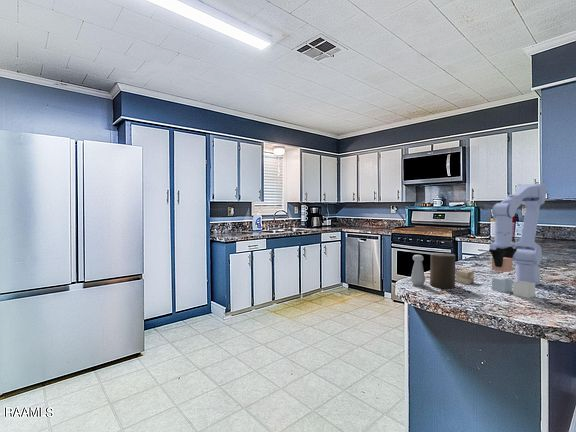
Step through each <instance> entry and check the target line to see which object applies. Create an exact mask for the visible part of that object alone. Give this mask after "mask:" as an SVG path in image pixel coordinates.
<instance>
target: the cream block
mask: <svg viewBox="0 0 576 432" xmlns="http://www.w3.org/2000/svg"><path fill="white" fill-rule="evenodd" d="M512 295H514V296H517V297H522V298H525V299H530V298H534V297H536V285H535V283H530V282H525V281H517V282H512Z"/></svg>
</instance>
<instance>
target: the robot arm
mask: <svg viewBox="0 0 576 432" xmlns="http://www.w3.org/2000/svg"><path fill="white" fill-rule="evenodd" d="M546 187H547V186H546V185H545V184H544V183H543V182H541V183H528V184H527V183H526V184H525V183H524V184H523V183H522V184H520V183H519V184H516V186H515V189H514V193H513V194H508V195H507V196H506V198H504V199H503V200H502V201H501V202H497V203H495V204H494V205H493V207H492V208H491V209H492V210H491V211H492V212H491V213H492V216H493V217H492V218H493V220H492V221H493V222H494V242H491V243H490V244H489V253H490V254H491V256H492V257H493V259H494V263H495V266H496V267H502V264H503V257H506V258H512V262H514V263H515V280H513V281H512V283H513V282H517V281H525V282H530V283H535V286H537V285H541V284H543V282H541V268H540V266H539V265H538V264H539V263H541V262H542V259H543V254H542V253H543V251H542V247H541V245H540V244H538V243H536V233H537V228H538V221H539V215H540V210H541V209H540V208H541V205H543V204H545V201H546V197H547V188H546ZM521 205H523V206H525V210H524V217H523V225H522V230H521V231H522V232H521V235H520V236H521V237H520V240H519V241H516V242H513V240H512V238H513V236H512V235H513V217H515V215H516V212H517V209H518V208H519V207H520V206H521Z"/></svg>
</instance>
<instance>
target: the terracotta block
mask: <svg viewBox="0 0 576 432" xmlns="http://www.w3.org/2000/svg"><path fill="white" fill-rule="evenodd" d="M491 270H492V271H498V272H503V273H507V272H512V271H513V259H512V258H506V257H503V264H502V267H496V266H495V263H494V259H493V257H492V258H491Z"/></svg>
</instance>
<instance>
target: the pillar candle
mask: <svg viewBox="0 0 576 432" xmlns="http://www.w3.org/2000/svg"><path fill="white" fill-rule="evenodd" d="M429 268H430V273H429V274H430V275H429V277H430V278H429V283H430V284H429V285H430V286H432V287H435V288H438V289H448V290H450V289H454V288H455V287H456V254H454V253H444V251H442V252H432V253H430V267H429Z"/></svg>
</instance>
